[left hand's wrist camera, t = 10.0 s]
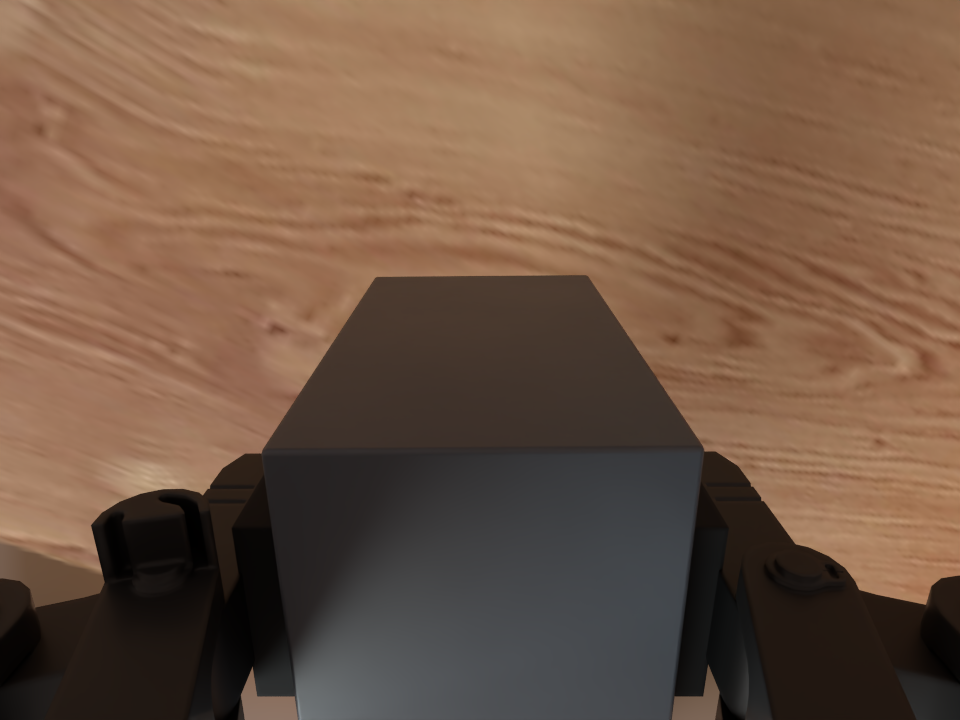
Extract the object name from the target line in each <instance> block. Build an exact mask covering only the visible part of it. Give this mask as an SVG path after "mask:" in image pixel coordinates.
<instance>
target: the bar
mask: <svg viewBox="0 0 960 720" xmlns="http://www.w3.org/2000/svg"><path fill="white" fill-rule="evenodd" d="M703 458H704V448H703V446H702V444H701V443H700V441H699V440H698V438H697V437H696V435H695V434H694V432H693V431H692V430H691V428H690V427H689V425H688V424H687V422H686V421H685V419H684V418H683V416H682V415H681V413H680V412H679V410H678V409H677V407H676V406H675V404H674V403H673V401H672V400H671V398H670V397H669V396H668V394H667V393H666V391H665V390H664V388H663V387H662V385H661V384H660V382H659V381H658V379H657V378H656V376H655V375H654V373H653V372H652V370H651V369H650V367H649V366H648V364H647V363H646V361H645V360H644V359H643V357H642V356H641V354H640V353H639V351H638V350H637V348H636V347H635V345H634V344H633V342H632V341H631V339H630V338H629V336H628V335H627V333H626V332H625V330H624V329H623V327H622V326H621V325H620V323H619V322H618V320H617V319H616V317H615V316H614V314H613V313H612V311H611V310H610V308H609V307H608V305H607V304H606V302H605V301H604V299H603V298H602V296H601V295H600V293H599V292H598V291H597V289H596V288H595V286H594V285H593V283H592V282H591V280H590V279H589V277H588V276H586V275H566V276H443V277H376V278H375V279H374V281H373V282H372V284H371V285H370V287H369V288H368V290H367V292H366V293H365V295H364V296H363V298H362V299H361V301H360V302H359V304H358V305H357V307H356V308H355V310H354V311H353V313H352V314H351V316H350V317H349V319H348V321H347V322H346V324H345V325H344V327H343V328H342V330H341V331H340V333H339V334H338V336H337V337H336V339H335V340H334V342H333V343H332V345H331V346H330V348H329V349H328V351H327V353H326V354H325V356H324V357H323V359H322V360H321V362H320V363H319V365H318V366H317V368H316V369H315V371H314V372H313V374H312V375H311V377H310V378H309V380H308V382H307V383H306V385H305V386H304V388H303V389H302V391H301V392H300V394H299V395H298V397H297V398H296V400H295V401H294V403H293V404H292V406H291V407H290V409H289V411H288V412H287V414H286V415H285V417H284V418H283V420H282V421H281V423H280V424H279V426H278V427H277V429H276V430H275V432H274V433H273V435H272V436H271V438H270V439H269V441H268V443H267V444H266V446H265V447H264V449H263V451H262V461H263V469H264V476H265V483H266V490H267V498H268V505H269V512H270V519H271V527H272V534H273V541H274V548H275V556H276V563H277V570H278V577H279V585H280V592H281V599H282V606H283V614H284V621H285V628H286V635H287V643H288V650H289V657H290V664H291V672H292V679H293V686H294V693H295V701H296V708H297V715H298V720H672V712H673V704H674V696H675V687H676V679H677V671H678V663H679V655H680V646H681V638H682V630H683V622H684V614H685V606H686V597H687V589H688V581H689V573H690V565H691V557H692V548H693V540H694V532H695V524H696V516H697V507H698V499H699V491H700V483H701V475H702V467H703Z"/></svg>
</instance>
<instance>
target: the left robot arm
mask: <svg viewBox="0 0 960 720" xmlns="http://www.w3.org/2000/svg"><path fill="white" fill-rule="evenodd" d="M91 527H92V531H93V535H94V539H95V543H96V548H97V552H98V556H99V560H100V564H101V568H102V573H103V577H104V581H105V583H104V586H103V588H102V590H101V592H100V593H99V594H96V595H92V596H89V597H85V598H80V599H75V600H70V601H65V602H60V603H56V604H51V605H46V606H41V607H36V608H35V605H34V602H33V598H32V595H31V591H30V589H29V588H28V587H27V586H25V585H24V584H23V583H22V582H20V581H15V580H9V579H0V720H244V713H243V706H242V700H241V693H242V691H243V688H244V686H245V683H246V681H247V679H248V676H249V674H250V671H251V669H252V666H253V671H254V678H255V684H256V691H257V696H295V693H294V686H293V679H292V672H291V664H290V657H289V650H288V643H287V635H286V628H285V621H284V614H283V606H282V599H281V592H280V585H279V577H278V570H277V563H276V556H275V548H274V541H273V534H272V527H271V519H270V512H269V505H268V498H267V490H266V483H265V476H264V469H263V461H262V454H244V455H243V456H241V457H239V458H238V459H236V460H235V461H233V462H232V463H230V464H229V465H227V466H226V467H224V468H223V469H222V470H221V472H220V473H219V474H218V476H217V477H216V478H215V480H214V481H213V482H212V484H211V485H210V489H207V491H206V492H205V493H204V495H201V494H200V493H198V492H194V491H190V490H185V489H162V490H157V491H153V492H148V493H143V494H139V495H137V496H134V497H131V498H129V499H126V500H123V501H121V502H119V503H117V504H115V505H114V506H112V507H111V508H109V509H107V510H106V511H104V512H103V513H101V515H100V516H99V517H98V518H97V519H96V520H95V521H94V522H93V524H92V525H91ZM708 665H709V667H710V669H711V672H712V674H713V676H714V679H715V681H716V684H717V686H718V689H719V691H720V694H719V700H718V706H717V712H716V718H715V720H960V576H953V577H947V578H941V579H940V580H939V581H937V582H936V583H935V584H934V585H932V586H931V590H930V593H929V597H928V600H927V604H926V605H924V604H919V603H914V602H909V601H904V600H899V599H894V598H890V597H885V596H880V595H875V594H872V593H868V592H864V591H861V590H859V589H858V587H857V585H856V582H855V581H854V579H853V578H852V577H851V575H850V574H849V573H848V571H847V570H846V569H845V568H844V567H843V566H841V565H840V564H839V563H837V562H836V561H834V560H833V559H832V558H830V557H829V556H827V555H824V554H822V553H820V552H818V551H815V550H813V549H811V548H809V547H805V546H800V545H796V544H795V543H794V542H793V540H792V539H791V538H790V536H789V535H788V534H787V532H786V531H785V529H784V528H783V527H782V525H781V524H780V523H779V521H778V520H777V519H776V517H775V516H774V514H773V513H772V512H771V510H770V509H769V508H768V506H767V505H766V504H765V502H764V501H761V497H760V495H759V494H758V493H757V491H756V490H755V489H754V487H751V483H750V482H749V480H748V479H747V478H746V476H745V475H744V474H743V472H742V471H741V470H740V468H739V467H738V466H737V465H735V464H734V463H732V462H731V461H729V460H728V459H726V458H725V457H723V456H721V455H720V454H718V453H717V452H704V458H703V467H702V475H701V483H700V491H699V499H698V507H697V516H696V524H695V532H694V540H693V548H692V557H691V565H690V573H689V581H688V589H687V597H686V606H685V614H684V622H683V630H682V638H681V646H680V655H679V663H678V671H677V679H676V687H675V696H703V693H704V687H705V680H706V674H707V668H708Z"/></svg>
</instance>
